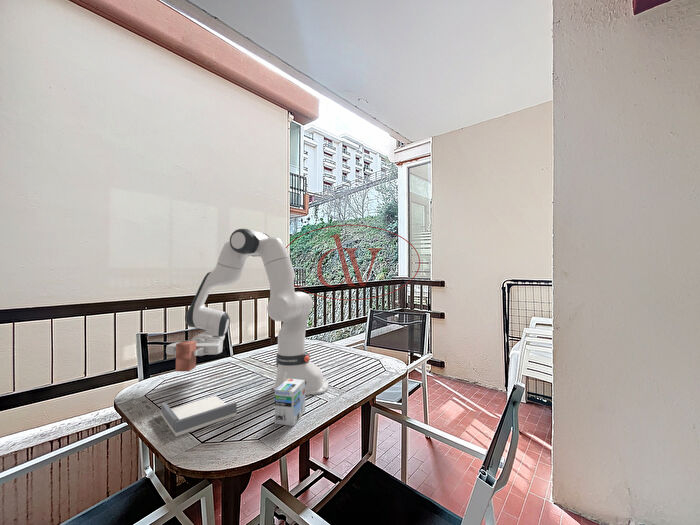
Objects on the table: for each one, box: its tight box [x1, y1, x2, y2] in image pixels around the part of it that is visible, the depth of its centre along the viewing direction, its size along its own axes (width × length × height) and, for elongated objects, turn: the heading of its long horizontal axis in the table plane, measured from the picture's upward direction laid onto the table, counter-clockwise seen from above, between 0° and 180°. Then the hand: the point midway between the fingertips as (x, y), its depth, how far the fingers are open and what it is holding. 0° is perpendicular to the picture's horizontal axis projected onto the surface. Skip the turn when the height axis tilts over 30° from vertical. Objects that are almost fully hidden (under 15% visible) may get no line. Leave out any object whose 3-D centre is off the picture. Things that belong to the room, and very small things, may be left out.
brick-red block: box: [175, 340, 197, 372], centre depth 113 cm, size 5×5×10 cm
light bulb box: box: [274, 378, 306, 427], centre depth 98 cm, size 11×7×11 cm, turn 168°
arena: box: [160, 395, 238, 437], centre depth 100 cm, size 18×18×4 cm
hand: (185, 353), depth 112 cm, fingers closed on brick-red block, 5 cm apart
